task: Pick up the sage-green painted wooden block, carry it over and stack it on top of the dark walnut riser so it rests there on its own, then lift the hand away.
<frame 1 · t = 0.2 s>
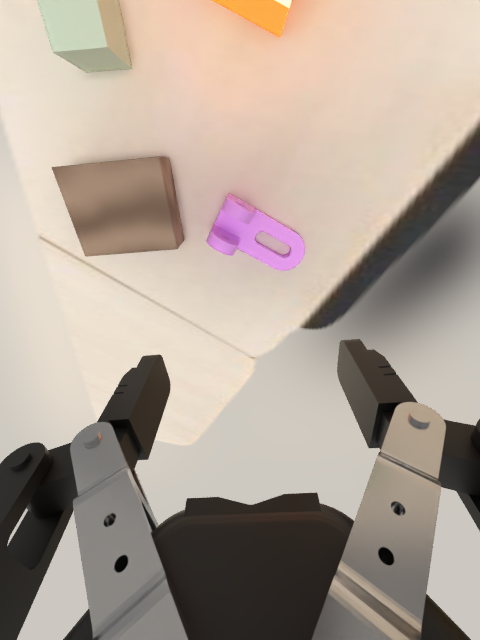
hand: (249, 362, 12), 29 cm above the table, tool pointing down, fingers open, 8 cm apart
walnut riser: (133, 205, 36), on the table
bracket: (261, 235, 38), on the table
sage block: (102, 38, 28), on the table
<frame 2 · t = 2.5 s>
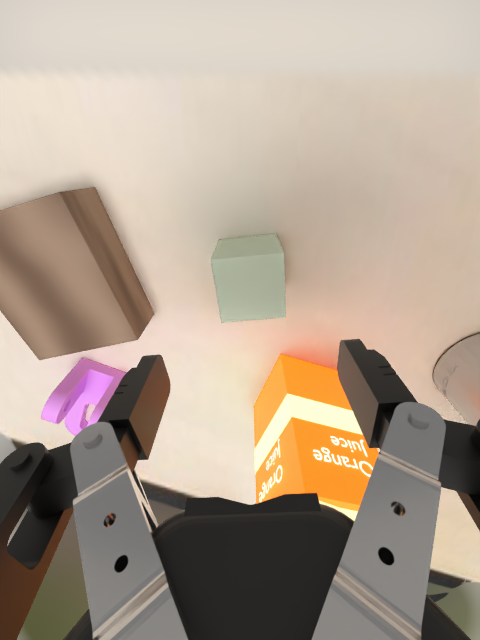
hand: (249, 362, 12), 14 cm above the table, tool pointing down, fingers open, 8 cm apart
walnut riser: (81, 269, 25), on the table
orange juice: (294, 388, 32), on the table
bracket: (98, 399, 34), on the table
sage block: (249, 264, 24), on the table
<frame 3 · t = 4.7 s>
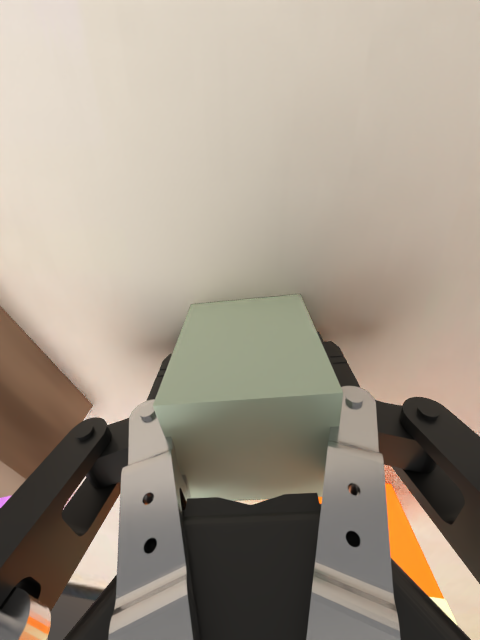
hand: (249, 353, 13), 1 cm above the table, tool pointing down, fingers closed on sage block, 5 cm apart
orange juice: (317, 501, 21), on the table
sage block: (249, 343, 13), on the table, touching gripper
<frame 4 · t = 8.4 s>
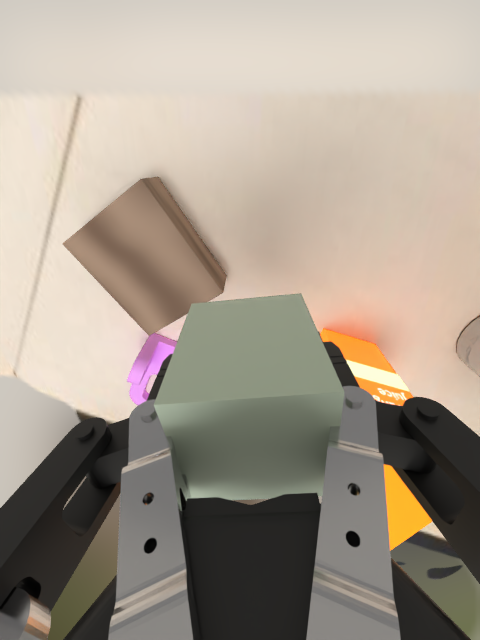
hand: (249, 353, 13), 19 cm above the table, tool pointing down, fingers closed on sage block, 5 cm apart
walnut riser: (160, 254, 30), on the table
orange juice: (333, 360, 37), on the table
bracket: (158, 371, 39), on the table
sage block: (250, 343, 13), point 18 cm above the table, touching gripper
when the fingers open (7 cm above the table, at t = 12.2 s): sage block drops 2 cm, resting on walnut riser.
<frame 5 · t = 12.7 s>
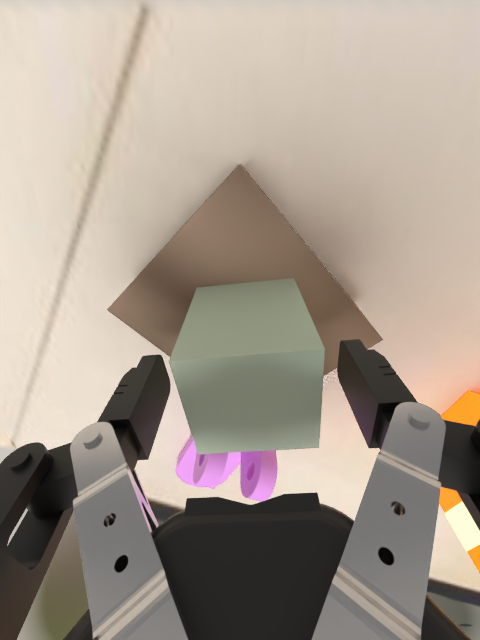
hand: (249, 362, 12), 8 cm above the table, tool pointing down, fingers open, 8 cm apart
walnut riser: (247, 289, 19), on the table, touching sage block
orange juice: (465, 428, 26), on the table
bracket: (217, 439, 28), on the table
sage block: (249, 324, 15), point 5 cm above the table, touching walnut riser
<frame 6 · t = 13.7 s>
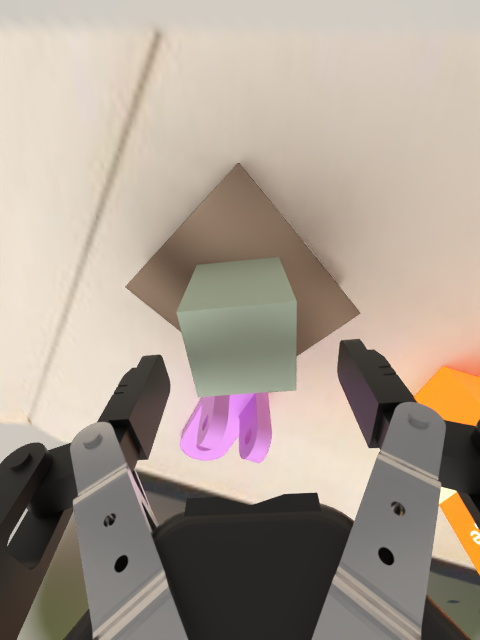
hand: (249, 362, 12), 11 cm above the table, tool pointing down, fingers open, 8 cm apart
walnut riser: (244, 273, 22), on the table, touching sage block
orange juice: (442, 402, 29), on the table
bracket: (218, 415, 30), on the table
sage block: (241, 297, 17), point 5 cm above the table, touching walnut riser
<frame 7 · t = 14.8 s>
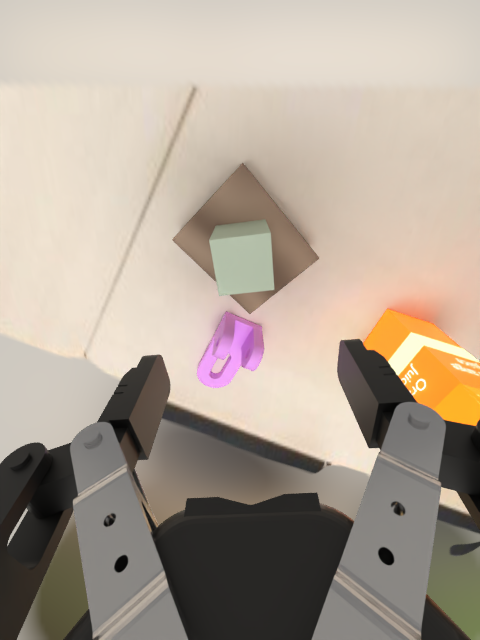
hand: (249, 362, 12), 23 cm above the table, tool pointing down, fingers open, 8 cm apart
walnut riser: (246, 237, 32), on the table, touching sage block
orange juice: (391, 339, 39), on the table
bracket: (225, 350, 41), on the table
sage block: (243, 247, 28), point 5 cm above the table, touching walnut riser
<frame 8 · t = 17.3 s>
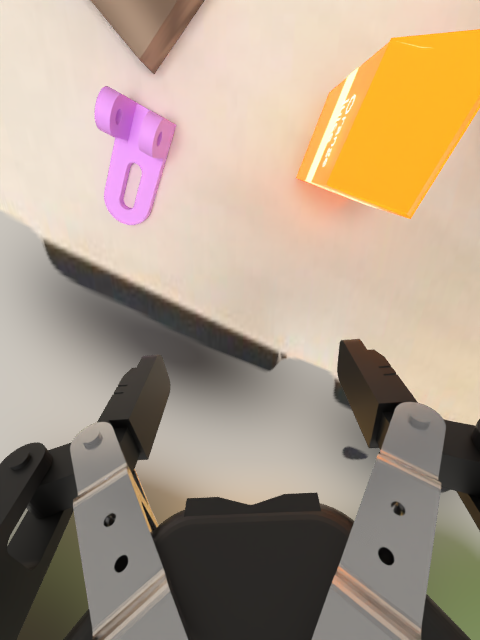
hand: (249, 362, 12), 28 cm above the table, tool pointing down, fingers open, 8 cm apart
orange juice: (339, 150, 32), on the table
bracket: (138, 171, 33), on the table
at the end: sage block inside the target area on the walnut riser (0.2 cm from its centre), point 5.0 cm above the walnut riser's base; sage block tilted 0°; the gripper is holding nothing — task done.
